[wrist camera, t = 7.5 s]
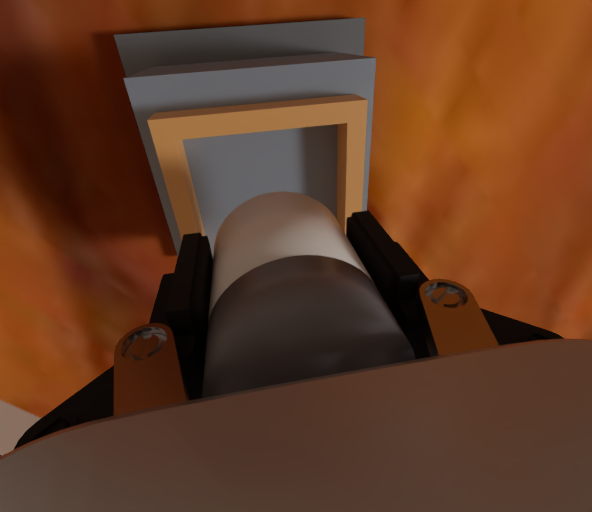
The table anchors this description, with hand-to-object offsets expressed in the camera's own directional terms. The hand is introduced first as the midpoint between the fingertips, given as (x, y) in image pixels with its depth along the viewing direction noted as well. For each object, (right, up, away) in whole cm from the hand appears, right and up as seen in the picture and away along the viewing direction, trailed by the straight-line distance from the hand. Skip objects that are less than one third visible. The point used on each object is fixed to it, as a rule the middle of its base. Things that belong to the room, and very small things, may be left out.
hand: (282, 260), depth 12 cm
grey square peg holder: (-2, +7, +10) cm, 12 cm away
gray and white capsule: (0, 0, +1) cm, 1 cm away
